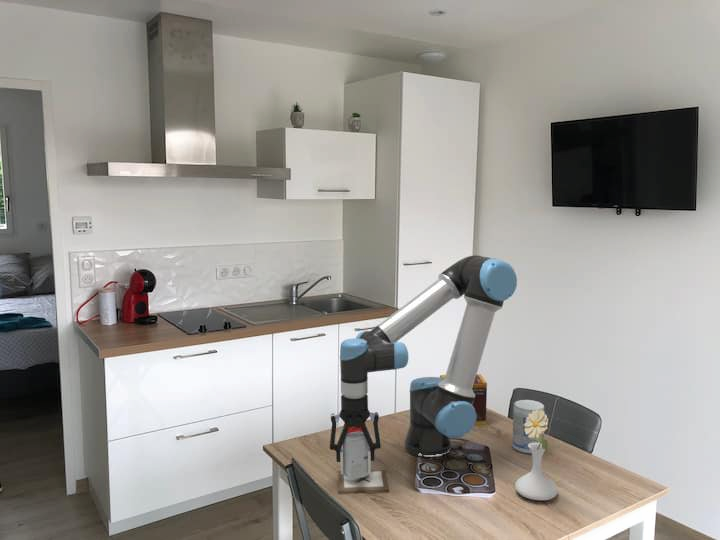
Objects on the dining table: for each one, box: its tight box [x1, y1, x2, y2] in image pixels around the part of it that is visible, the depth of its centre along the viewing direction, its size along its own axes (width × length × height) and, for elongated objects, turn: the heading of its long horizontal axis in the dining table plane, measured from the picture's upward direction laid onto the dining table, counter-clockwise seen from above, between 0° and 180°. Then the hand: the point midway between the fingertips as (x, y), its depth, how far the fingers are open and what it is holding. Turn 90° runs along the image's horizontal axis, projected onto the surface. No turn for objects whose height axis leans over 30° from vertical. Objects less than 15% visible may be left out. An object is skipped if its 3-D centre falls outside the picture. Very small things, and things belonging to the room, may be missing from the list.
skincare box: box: [342, 431, 369, 480], centre depth 171 cm, size 6×4×12 cm
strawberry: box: [347, 426, 363, 434], centre depth 194 cm, size 6×8×10 cm
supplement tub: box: [511, 399, 545, 454], centre depth 193 cm, size 10×10×15 cm
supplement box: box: [439, 373, 488, 426], centre depth 217 cm, size 10×15×16 cm
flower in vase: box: [514, 410, 559, 501], centre depth 162 cm, size 13×11×25 cm
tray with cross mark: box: [338, 469, 390, 494], centre depth 172 cm, size 14×12×1 cm
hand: (355, 471), depth 172 cm, fingers closed on skincare box, 7 cm apart
